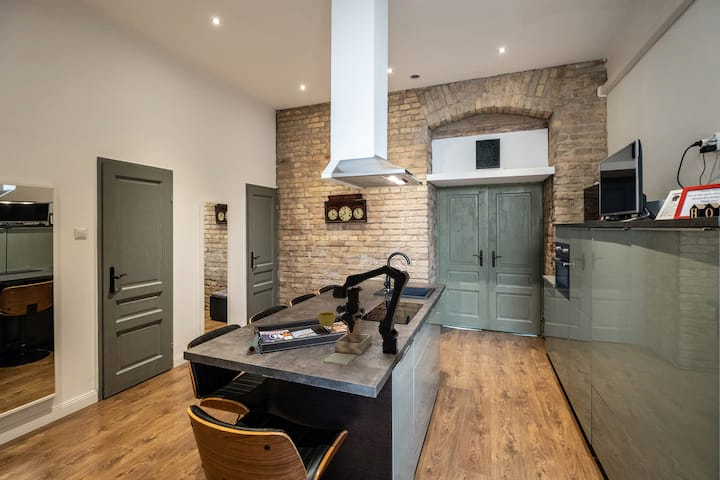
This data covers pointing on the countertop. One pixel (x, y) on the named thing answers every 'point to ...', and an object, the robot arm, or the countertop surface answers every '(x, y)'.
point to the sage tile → (340, 358)
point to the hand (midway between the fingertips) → (353, 331)
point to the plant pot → (326, 318)
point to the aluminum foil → (254, 345)
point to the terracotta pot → (355, 328)
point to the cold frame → (350, 347)
